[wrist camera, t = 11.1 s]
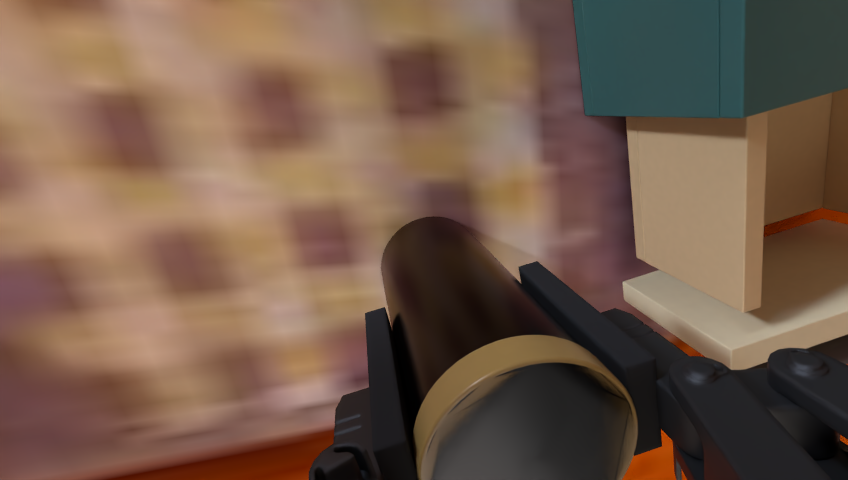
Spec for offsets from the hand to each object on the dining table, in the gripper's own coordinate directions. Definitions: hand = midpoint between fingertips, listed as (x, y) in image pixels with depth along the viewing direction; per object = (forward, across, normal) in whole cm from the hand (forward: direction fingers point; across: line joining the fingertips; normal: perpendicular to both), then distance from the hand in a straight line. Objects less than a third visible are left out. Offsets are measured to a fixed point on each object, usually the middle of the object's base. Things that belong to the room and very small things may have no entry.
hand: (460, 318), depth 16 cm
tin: (+6, 0, 0) cm, 6 cm away
